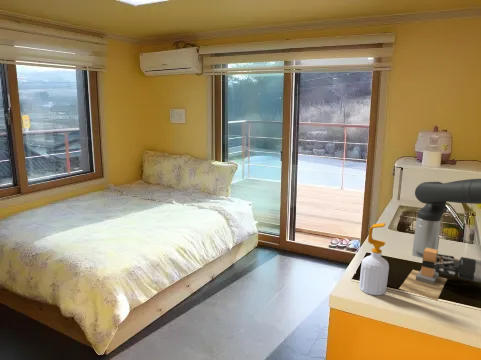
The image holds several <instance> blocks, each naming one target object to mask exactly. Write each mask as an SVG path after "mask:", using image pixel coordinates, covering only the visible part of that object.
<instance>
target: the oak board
mask: <svg viewBox="0 0 481 360" xmlns="http://www.w3.org/2000/svg"><path fill="white" fill-rule="evenodd" d="M419 271H420V270H415V269H412V270H411V272H410V273H409V274H408V275H407V277H406V278H405V280H404V282H403V283H402V284H401V285H400V287H399V288H398V289H399V290H402V291H404V292H405V291H406V292H409V293H412V294H416V295H419V296H420V297H421V296H422V297H425V298H428V299H430V300H435V301H438V299H439V297H440V295H441V293H442V291H443V290H444V286H445V285H446V283H447V281H448V278H445V277H441V276H438V278H437V280H436V282H435V284H434V285H431V284H427V283H424V282H420V281H417V280H416V276H417V274H418V273H419Z"/></svg>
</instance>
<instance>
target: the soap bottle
mask: <svg viewBox="0 0 481 360" xmlns="http://www.w3.org/2000/svg"><path fill="white" fill-rule="evenodd" d="M385 226H386V223H385V222H380V223H374V224H372V225H371V226H370V228H369V230H368V238H367V242H368V243H369V244H370V245H373V247H374V248H372V249H371V252H370V255H367V256H366V257H363V258H362V260H361V266H360V276H359V286H358V287H359V290H361V291H362V292H364V293H365V294H368V295H371V296H382V295H385V294H386V293H387V286H388V277H389V272H390V271H389V270H390V265H389V262H388V261H387V260H386V259H385V258H383V257H382V253H383V251H382V249H380V248H381V247H384V246H385V245H386V242H385V241H382V240H377V239H374V238H373V229H376V228H377V229H378V228H384V227H385Z"/></svg>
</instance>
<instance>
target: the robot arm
mask: <svg viewBox="0 0 481 360" xmlns="http://www.w3.org/2000/svg"><path fill="white" fill-rule="evenodd" d="M414 195H415V198H416V199H417V200H418V201H419V203H422V204H425V205H424V206H422V208H420V209H418V210H417V212H416V213H417V215H416V221H415V229H414V235H413V236H414V237H413V244H412V251H411V253H412V256H414V257H417V258H421V259H422V260H421V267H422V266H423V267H427V268H432V269H434V270H435V272H437V273H439V274H441V275H446V276H450V277H455V275H456V274H457V276H458V278H459V279H462V280H468V281H472V282H478V283H481V259H475V258H469V257H464V256H461V257H460V258H459V260H456V259H455V256H453V255H448V254H447V255H446V254H440V253H438V255H437V262H436V263H434V262H429V261H424V260H423V254H424V250H425V249H426V248H431V249H435V250H438V251H439V243H440V235H439V233H440V227H441V221H442V216H443V215H444V214H445V209H446V204H447V203H457V204H470V205H471V204H475V205H476V204H477V205H478V204H481V178H470V179H468V178H467V179H462V180H461V179H460V180H454V181H448V182H444V183H443V182H442V181H425V182H421V183H420V184H418V185H417V186H416V188H415V191H414Z"/></svg>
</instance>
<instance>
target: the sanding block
mask: <svg viewBox="0 0 481 360" xmlns="http://www.w3.org/2000/svg"><path fill="white" fill-rule="evenodd" d="M438 254H439V249H438V250H435V249H431V248H426V249H425V250H424V254H423V258H422V261H423V260H424V261H429V262H434V263H436V262H437V255H438ZM418 271H419V273H418V274H417V276H416V280H417V281H420V282H424V283H427V284H431V285H434V284H435V282H436V280H437V278H438V277H439V274H440V273H437V272H435V271H436V270H434V269H432V268H427V267H423V266H422V265H421V269H420V270H418Z"/></svg>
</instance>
